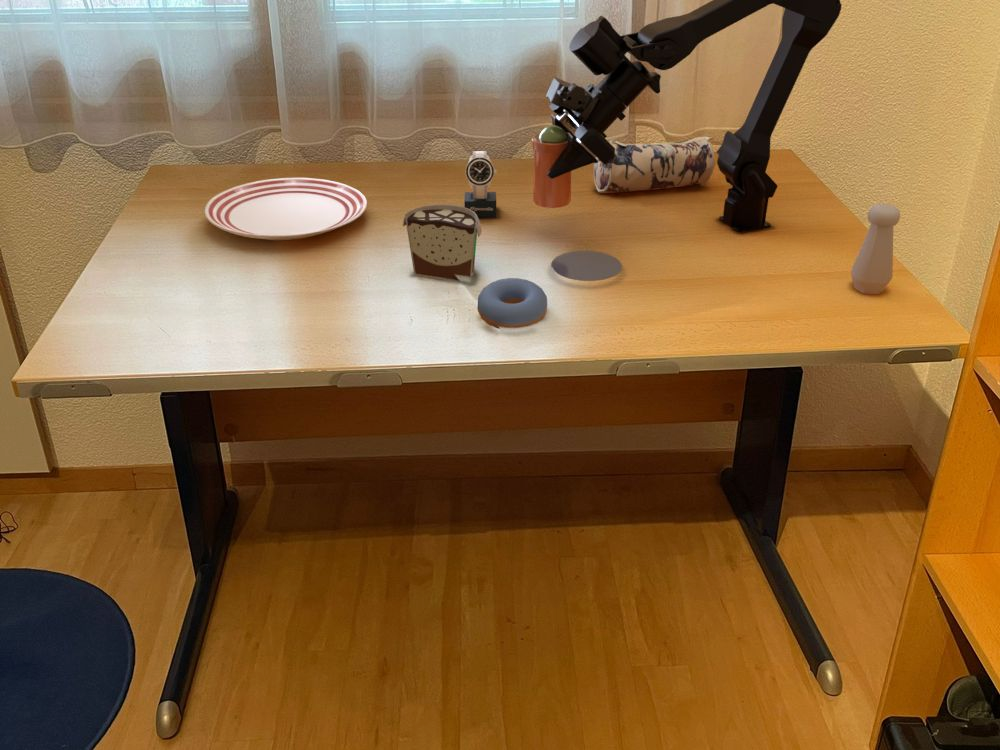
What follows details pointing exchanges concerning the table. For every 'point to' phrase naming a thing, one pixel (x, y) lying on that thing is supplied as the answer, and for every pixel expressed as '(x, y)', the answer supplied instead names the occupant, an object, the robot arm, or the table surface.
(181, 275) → the table surface
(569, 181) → the plant pot
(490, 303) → the doughnut
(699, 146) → the pencil case
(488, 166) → the watch
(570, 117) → the robot arm
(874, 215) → the salt shaker
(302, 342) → the table surface
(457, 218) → the food container
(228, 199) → the dinner plate
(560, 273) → the saucer
